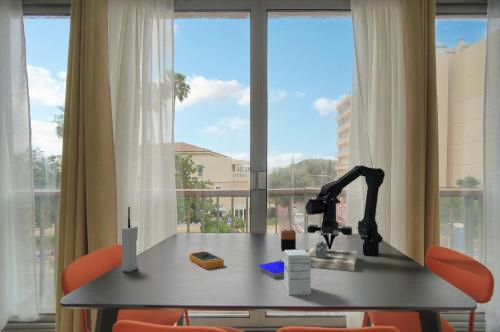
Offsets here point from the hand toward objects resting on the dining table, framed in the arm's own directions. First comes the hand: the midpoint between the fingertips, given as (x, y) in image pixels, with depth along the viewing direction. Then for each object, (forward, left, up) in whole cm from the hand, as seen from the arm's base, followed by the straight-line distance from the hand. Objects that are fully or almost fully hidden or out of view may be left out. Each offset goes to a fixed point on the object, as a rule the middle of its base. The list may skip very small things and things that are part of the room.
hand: (329, 249), depth 151 cm
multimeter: (+49, +23, -5) cm, 54 cm away
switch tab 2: (+2, +10, -1) cm, 10 cm away
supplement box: (+5, +43, -4) cm, 43 cm away
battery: (+21, -10, -4) cm, 24 cm away
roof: (+16, +26, -5) cm, 31 cm away
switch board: (-1, +5, -4) cm, 7 cm away
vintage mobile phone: (+72, +42, -4) cm, 83 cm away
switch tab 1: (+3, 0, -1) cm, 4 cm away
